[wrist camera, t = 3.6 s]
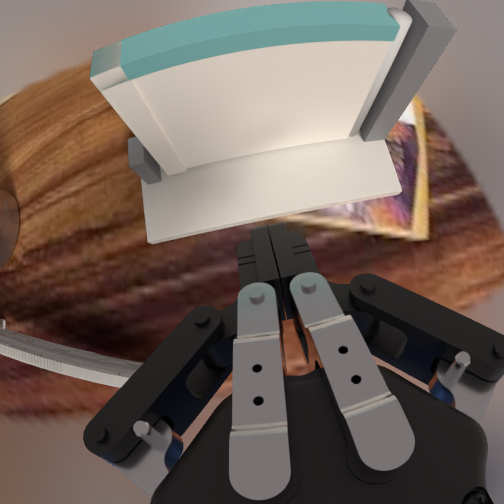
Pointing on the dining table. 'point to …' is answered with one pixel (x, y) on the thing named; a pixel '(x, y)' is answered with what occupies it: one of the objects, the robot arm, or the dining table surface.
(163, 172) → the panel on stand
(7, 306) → the dining table surface
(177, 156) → the gate panel
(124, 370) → the grey flat strip
